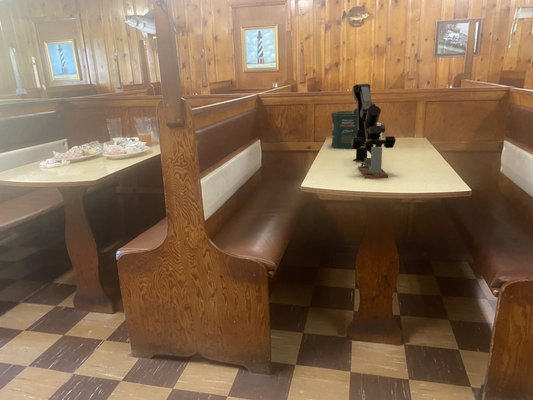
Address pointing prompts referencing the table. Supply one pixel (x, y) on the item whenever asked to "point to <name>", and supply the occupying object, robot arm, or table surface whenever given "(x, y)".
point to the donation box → (344, 128)
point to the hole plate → (368, 167)
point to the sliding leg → (376, 160)
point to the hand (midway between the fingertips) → (375, 158)
